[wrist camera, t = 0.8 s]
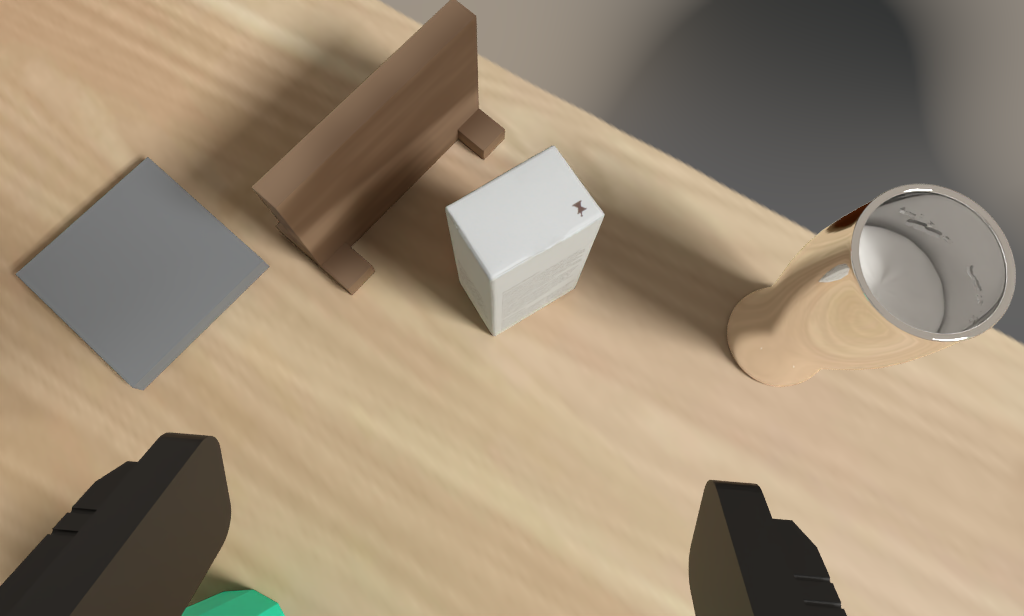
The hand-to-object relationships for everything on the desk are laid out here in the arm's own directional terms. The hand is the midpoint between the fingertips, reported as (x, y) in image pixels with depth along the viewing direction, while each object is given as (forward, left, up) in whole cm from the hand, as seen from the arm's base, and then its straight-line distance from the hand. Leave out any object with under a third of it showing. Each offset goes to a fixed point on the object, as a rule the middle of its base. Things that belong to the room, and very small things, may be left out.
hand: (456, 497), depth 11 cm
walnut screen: (-16, +10, -28) cm, 34 cm away
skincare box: (-6, +10, -28) cm, 31 cm away
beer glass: (+8, +18, -28) cm, 34 cm away
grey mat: (-23, -4, -28) cm, 36 cm away
